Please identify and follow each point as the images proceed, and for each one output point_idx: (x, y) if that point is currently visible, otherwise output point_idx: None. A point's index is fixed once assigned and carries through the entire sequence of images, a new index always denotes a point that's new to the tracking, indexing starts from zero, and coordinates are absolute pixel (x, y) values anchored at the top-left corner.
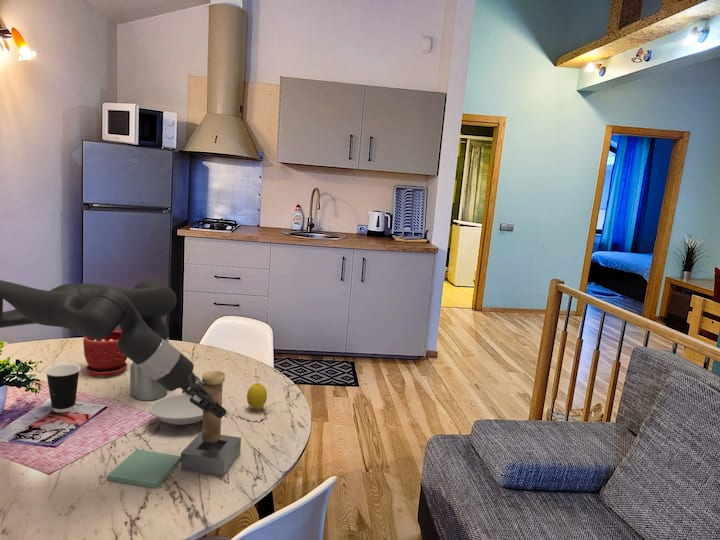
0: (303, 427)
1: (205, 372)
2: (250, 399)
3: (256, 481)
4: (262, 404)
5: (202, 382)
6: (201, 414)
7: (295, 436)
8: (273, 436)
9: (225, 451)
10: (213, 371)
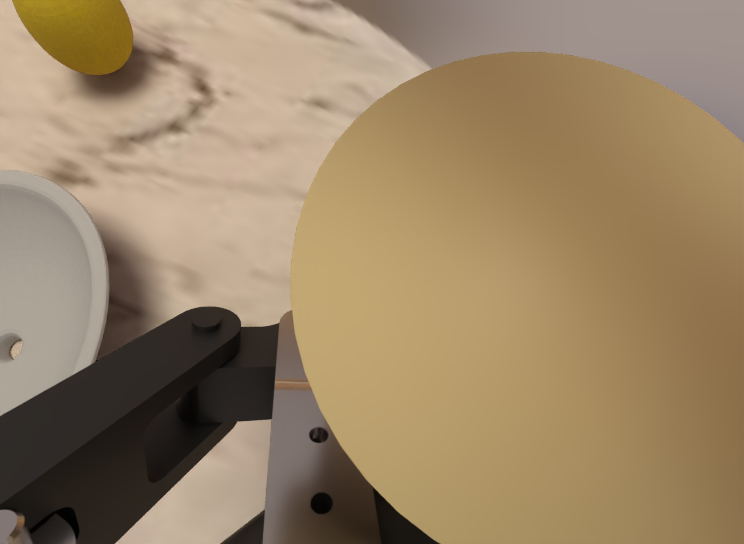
0: (332, 6)
1: (321, 395)
2: (87, 51)
3: None
4: (132, 33)
5: (341, 450)
6: (98, 302)
7: (372, 53)
8: (334, 109)
9: None
10: (345, 191)
